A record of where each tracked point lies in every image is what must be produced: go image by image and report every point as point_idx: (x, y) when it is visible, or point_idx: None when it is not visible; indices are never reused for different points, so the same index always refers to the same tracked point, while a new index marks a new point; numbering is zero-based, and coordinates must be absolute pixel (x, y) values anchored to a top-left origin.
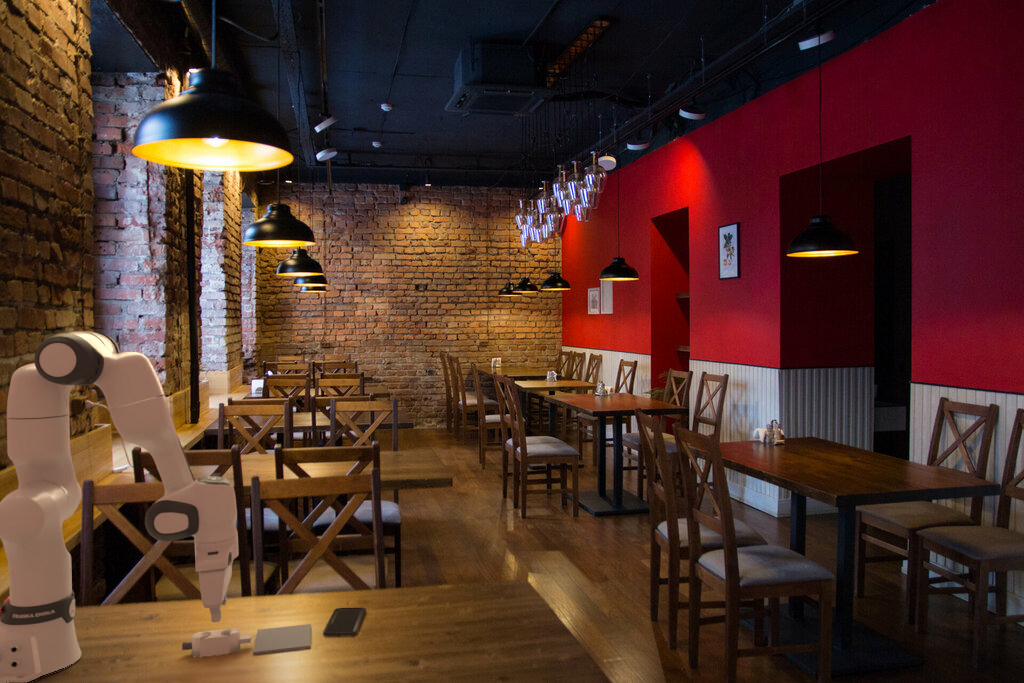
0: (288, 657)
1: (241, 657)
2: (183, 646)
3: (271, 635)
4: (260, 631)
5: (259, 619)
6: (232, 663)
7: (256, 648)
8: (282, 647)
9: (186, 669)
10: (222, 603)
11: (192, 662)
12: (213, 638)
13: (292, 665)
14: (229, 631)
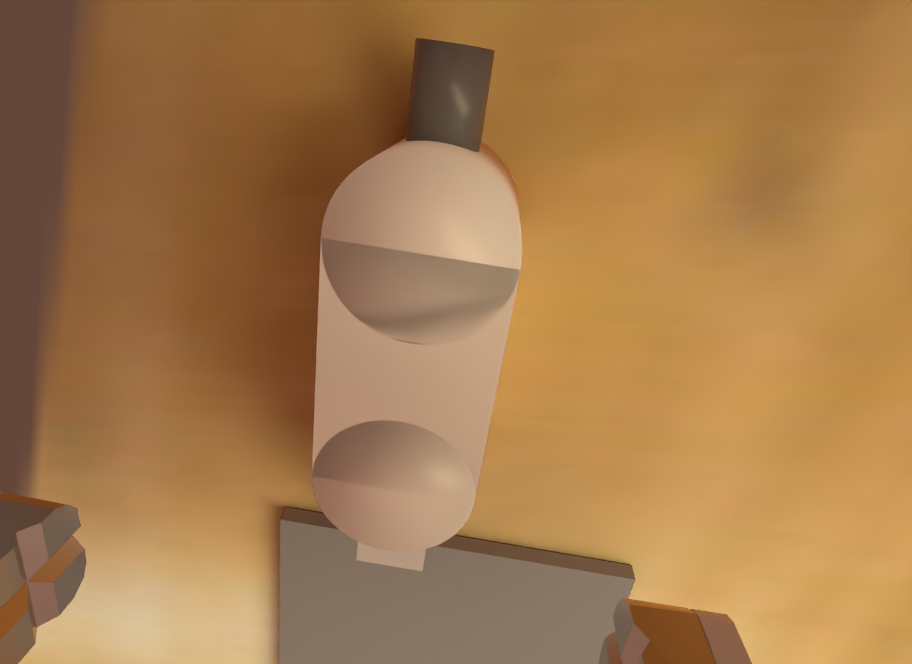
0: (206, 634)
1: (273, 448)
2: (416, 53)
3: (492, 626)
4: (592, 589)
5: (857, 599)
6: (198, 395)
7: (328, 540)
8: (297, 642)
9: (168, 89)
10: (610, 661)
11: (287, 136)
12: (319, 353)
13: (111, 633)
14: (410, 483)
